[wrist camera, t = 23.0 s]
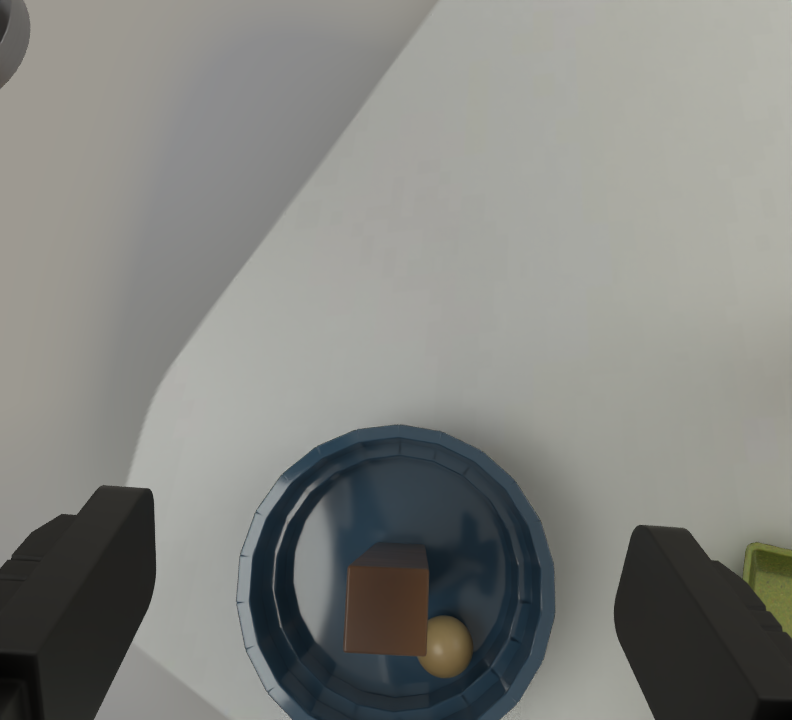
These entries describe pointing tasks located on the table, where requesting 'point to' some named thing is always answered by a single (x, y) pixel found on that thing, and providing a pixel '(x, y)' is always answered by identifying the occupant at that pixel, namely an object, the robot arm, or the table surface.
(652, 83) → the table surface
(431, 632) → the bead
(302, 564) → the bowl
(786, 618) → the green square tray
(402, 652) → the stick
